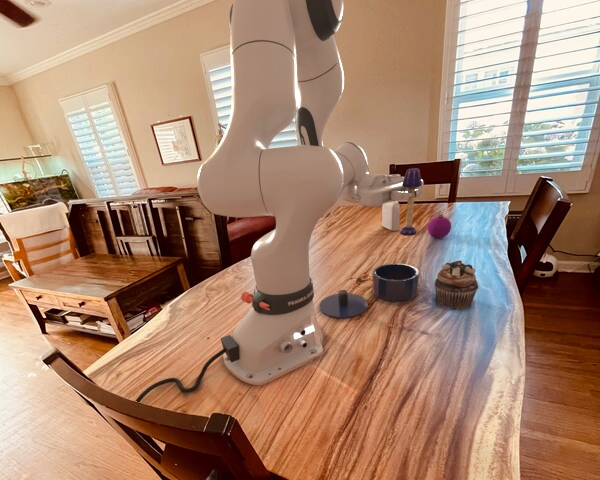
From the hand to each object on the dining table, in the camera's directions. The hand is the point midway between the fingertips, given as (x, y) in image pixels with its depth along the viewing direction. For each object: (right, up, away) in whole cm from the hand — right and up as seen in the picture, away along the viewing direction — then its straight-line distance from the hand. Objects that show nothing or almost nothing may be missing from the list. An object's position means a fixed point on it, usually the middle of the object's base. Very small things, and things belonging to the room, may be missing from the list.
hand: (414, 194), depth 80 cm
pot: (-4, -25, +4) cm, 26 cm away
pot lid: (-18, -29, 0) cm, 34 cm away
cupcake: (+9, -28, -3) cm, 29 cm away
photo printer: (+11, +4, +57) cm, 58 cm away
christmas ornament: (+24, -3, +40) cm, 47 cm away
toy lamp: (+1, -9, +6) cm, 11 cm away
